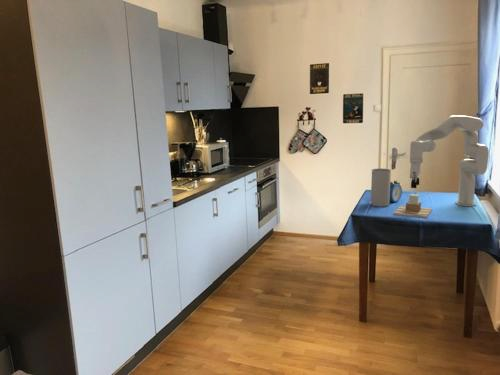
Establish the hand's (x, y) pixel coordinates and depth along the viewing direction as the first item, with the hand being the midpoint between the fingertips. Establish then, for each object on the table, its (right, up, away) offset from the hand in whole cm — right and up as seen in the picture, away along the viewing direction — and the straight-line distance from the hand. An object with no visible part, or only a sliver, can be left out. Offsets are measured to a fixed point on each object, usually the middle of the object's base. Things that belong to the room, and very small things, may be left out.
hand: (415, 186), depth 264 cm
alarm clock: (-3, -11, +32) cm, 34 cm away
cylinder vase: (-15, -13, +24) cm, 31 cm away
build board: (0, -17, +3) cm, 17 cm away
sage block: (0, -11, +2) cm, 11 cm away
